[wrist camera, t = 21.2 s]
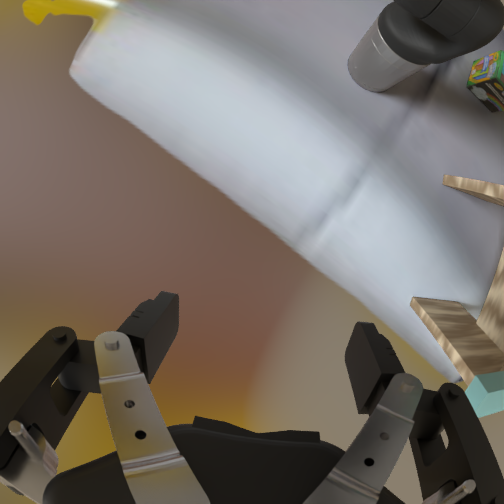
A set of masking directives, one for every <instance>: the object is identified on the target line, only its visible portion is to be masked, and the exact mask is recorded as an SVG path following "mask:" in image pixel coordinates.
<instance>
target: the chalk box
mask: <svg viewBox="0 0 504 504" xmlns="http://www.w3.org/2000/svg"><path fill="white" fill-rule="evenodd" d="M467 87H468V89H469V90H471V91H472V92H473V93H474V94H475V95H476V96H477V97H478V98H479V99H480V100H481V101H482V102H483V104H484V105H485V106H486V107H487V108H488V109H489V110H490V111H491V112H497V111H504V51H502V50H500V51H498V52H495V53H493V54H490V55H488V56H485V57H483V58H480V59H478V60H476V61H474V63H473V66H472V70H471V73H470V76H469V80H468V83H467Z"/></svg>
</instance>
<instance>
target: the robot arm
mask: <svg viewBox="0 0 504 504" xmlns="http://www.w3.org/2000/svg"><path fill="white" fill-rule="evenodd" d="M503 25H504V6H503V4H502V2H501V1H500V0H394V2H392V3H390V4H388V5H387V6H386V7H385V8H384V9H383V11H382V12H381V13H380V15H379V16H378V17H377V19H376V20H375V22H374V23H373V24H372V26H371V27H370V28H369V30H368V31H367V32H366V34H365V35H364V37H363V38H362V39H361V41H360V42H359V44H358V45H357V47H356V48H355V49H354V51H353V52H352V54H351V55H350V57H349V60H348V70H349V72H350V75H351V76H352V78H353V79H354V81H355V82H356V83H357V84H358V85H360V86H361V87H363V88H364V89H366V90H369V91H373V92H382V91H385V90H387V89H389V88H390V87H392V86H394V85H396V84H397V83H399V82H401V81H402V80H404V79H406V78H407V77H409V76H411V75H412V74H414V73H416V72H418V71H419V70H421V69H423V68H424V67H426V66H428V65H430V64H440V63H443V62H446V61H448V60H451V59H453V58H456V57H458V56H461V55H464V54H467V53H470V52H472V51H475V50H477V49H479V48H481V47H483V46H485V45H487V44H488V43H490V42H491V41H492V40H493V39H494V38H495V37H496V36H497V35H498V34H499V33H500V31H501V29H502V28H503ZM178 326H179V296H178V294H174V293H170V292H164V291H161V292H160V293H159V295H158V296H157V297H156V298H155V299H154V300H151V299H149V300H147V301H145V302H143V303H141V304H140V305H139V306H138V307H137V308H136V309H135V311H133V312H132V314H131V316H129V317H128V318H127V319H126V320H125V322H124V323H123V324H122V325H121V326H120V327H119V329H118V330H117V331H109V332H105V333H102V334H100V335H99V336H98V337H97V338H96V339H95V341H88V340H77V336H76V333H75V332H74V330H73V329H71V328H69V327H63V326H61V327H55V328H53V329H51V330H49V331H48V332H47V333H46V334H45V335H44V336H43V337H42V338H41V339H40V340H39V341H38V342H37V343H36V344H35V345H34V346H33V347H32V348H31V349H30V350H29V351H28V352H27V353H26V354H25V356H23V357H22V359H21V360H20V361H19V362H18V363H17V364H16V365H15V366H14V367H13V368H12V369H11V371H10V372H9V373H8V374H7V375H6V376H5V377H4V379H3V380H2V381H1V382H0V482H1V483H3V484H5V485H6V486H7V487H8V488H10V489H11V490H12V491H13V492H15V493H17V494H19V495H25V496H27V497H28V498H30V499H31V500H33V501H34V502H36V503H37V504H405V503H404V502H403V501H401V500H400V499H399V498H398V497H396V496H395V495H394V494H393V493H392V492H390V491H389V490H388V489H387V488H386V487H384V485H385V483H386V481H387V479H388V478H389V476H390V474H391V472H392V470H393V468H394V466H395V464H396V462H397V460H398V458H399V456H400V454H401V452H402V450H403V448H404V445H405V443H406V442H407V439H408V437H409V440H410V444H411V448H412V452H413V455H414V459H415V464H416V468H417V473H418V477H419V481H420V487H421V491H422V497H423V503H422V504H504V479H503V476H502V473H501V470H500V468H499V465H498V462H497V460H496V457H495V455H494V452H493V450H492V448H491V445H490V443H489V441H488V438H487V436H486V434H485V432H484V430H483V428H482V425H481V423H480V421H479V419H478V417H477V415H476V413H475V411H474V409H473V407H472V405H471V403H470V401H469V399H468V397H467V396H466V394H465V392H464V391H463V389H462V388H460V387H459V386H458V385H456V384H453V383H444V384H443V385H442V386H441V387H440V389H439V390H438V391H431V390H427V389H423V386H422V383H421V382H420V380H419V379H418V378H416V377H415V376H413V375H411V374H407V373H405V371H404V369H403V367H402V365H401V363H400V361H399V359H398V357H397V356H396V353H395V351H394V350H393V348H392V345H391V344H390V342H389V340H388V339H386V338H385V337H384V336H383V335H382V334H379V333H378V331H377V329H376V327H375V325H374V323H368V322H357V323H356V324H355V327H354V330H353V332H352V335H351V338H350V340H349V343H348V346H347V348H346V352H345V363H346V367H347V371H348V374H349V378H350V382H351V386H352V389H353V393H354V397H355V401H356V405H357V410H358V414H369V418H368V420H367V421H366V423H365V424H364V426H363V427H362V429H361V431H360V432H359V433H358V435H357V436H356V438H355V439H354V440H353V442H352V443H351V445H350V446H349V447H348V449H347V450H346V451H343V450H342V449H340V448H339V447H337V446H335V445H333V444H330V443H328V442H325V441H321V440H320V434H319V432H313V431H295V430H294V431H293V430H287V431H278V432H269V433H255V432H252V431H249V430H246V429H243V428H240V427H237V426H235V425H232V424H230V423H227V422H223V421H218V420H212V419H207V418H203V417H198V416H195V418H194V421H193V424H179V425H173V426H169V427H166V425H165V423H164V420H163V418H162V416H161V414H160V412H159V409H158V407H157V405H156V403H155V400H154V398H153V395H152V393H151V390H150V388H149V385H148V384H150V383H151V381H152V379H153V377H154V375H155V373H156V371H157V370H158V368H159V366H160V364H161V362H162V360H163V359H164V357H165V355H166V353H167V352H168V350H169V348H170V346H171V344H172V342H173V341H174V339H175V337H176V335H177V332H178ZM57 377H58V379H57V380H56V381H55V379H56V378H57ZM54 381H55V382H54ZM53 382H54V384H53V385H52V383H53ZM51 385H52V386H51ZM89 392H92V393H101V394H102V398H103V402H104V407H105V411H106V415H107V419H108V422H109V426H110V429H111V433H112V437H113V440H114V443H115V446H116V450H117V451H114V452H112V453H110V454H107V455H105V456H103V457H100V458H98V459H96V460H93V461H91V462H88V463H86V464H83V465H80V466H78V467H75V468H72V469H70V470H67V471H64V472H62V473H60V474H58V475H56V473H57V467H58V456H57V454H56V452H55V449H56V447H57V445H58V444H59V442H60V440H61V438H62V436H63V435H64V433H65V431H66V430H67V428H68V426H69V424H70V422H71V421H72V419H73V418H74V416H75V414H76V412H77V411H78V409H79V408H80V406H81V404H82V403H83V401H84V399H85V398H86V396H87V394H88V393H89ZM444 429H445V431H446V434H447V436H448V440H449V444H448V447H447V449H446V448H445V445H444V442H443V440H442V437H441V434H440V433H441V432H442V431H443V430H444Z"/></svg>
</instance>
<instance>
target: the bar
mask: <svg viewBox="0 0 504 504" xmlns="http://www.w3.org/2000/svg"><path fill="white" fill-rule="evenodd" d="M465 394H466V396H467V397H468V399H469V401H470V403H471V405H472V407H473V409H474V411H475V413H476V415H477V417H478V418H479V417H483V416H486V415H489V414H493V413H496V412H499V411H502V410H504V371H499V372H493V373H487V374H480V375H476V376H475V377H474V379H473V380H472V382H471V383H470V385H469V386H468V388H467V389H466V391H465Z"/></svg>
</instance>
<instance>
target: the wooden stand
mask: <svg viewBox="0 0 504 504" xmlns="http://www.w3.org/2000/svg"><path fill="white" fill-rule="evenodd" d="M443 185H446V186H449V187H451V188H454V189H457V190H460V191H462V192H465V193H468V194H470V195H473V196H475V197H478V198H480V199H483V200H485V201H488V202H491V203H494V204H498V205H501V206H504V186H503V185H499V184H494V183H489V182H484V181H479V180H474V179H468V178H463V177H457V176H450V175H444V178H443ZM410 306H411V307H412V309H413V310H414V311H415V312H416V314H417V315H418V316H419V318H420V319H421V320H422V322H423V323H424V324H425V326H426V327H427V328H428V330H429V331H430V332H431V334H432V335H433V336H434V338H435V339H436V340H437V342H438V343H439V345H440V346H441V347H442V349H443V350H444V352H445V353H446V354H447V356H448V357H449V359H450V360H451V362H452V363H453V365H454V366H455V368H456V369H457V371H458V372H459V374H460V375H461V377H462V378H463V380H464V381H465V383H466V384H467V386H469V385H470V383H471V382H472V380H473V379H474V377H475V376H476V375H480V374H487V373H493V372H499V371H504V247H503V251H502V254H501V258H500V261H499V264H498V267H497V271H496V274H495V276H494V279H493V282H492V285H491V288H490V290H489V293H488V296H487V298H486V301H485V303H484V306H483V308H482V310H481V313H480V315H479V317H478V319H477V320H476V319H475V318H474V317H473V316H472V315H471V314H470V313H469V312H468V311H467V310H466V309H465V308H464V307H463V306H461V305H460V304H459V303H458V302H455V301H446V300H437V299H428V298H419V297H412V300H411V303H410Z"/></svg>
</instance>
